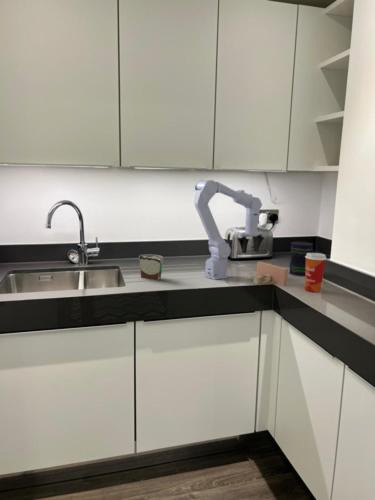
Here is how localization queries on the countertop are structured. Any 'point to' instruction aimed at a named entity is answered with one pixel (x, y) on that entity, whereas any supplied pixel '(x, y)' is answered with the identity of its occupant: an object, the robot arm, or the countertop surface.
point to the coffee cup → (314, 271)
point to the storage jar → (299, 257)
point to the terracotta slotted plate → (273, 272)
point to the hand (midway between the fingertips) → (249, 252)
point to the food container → (151, 266)
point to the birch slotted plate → (262, 279)
